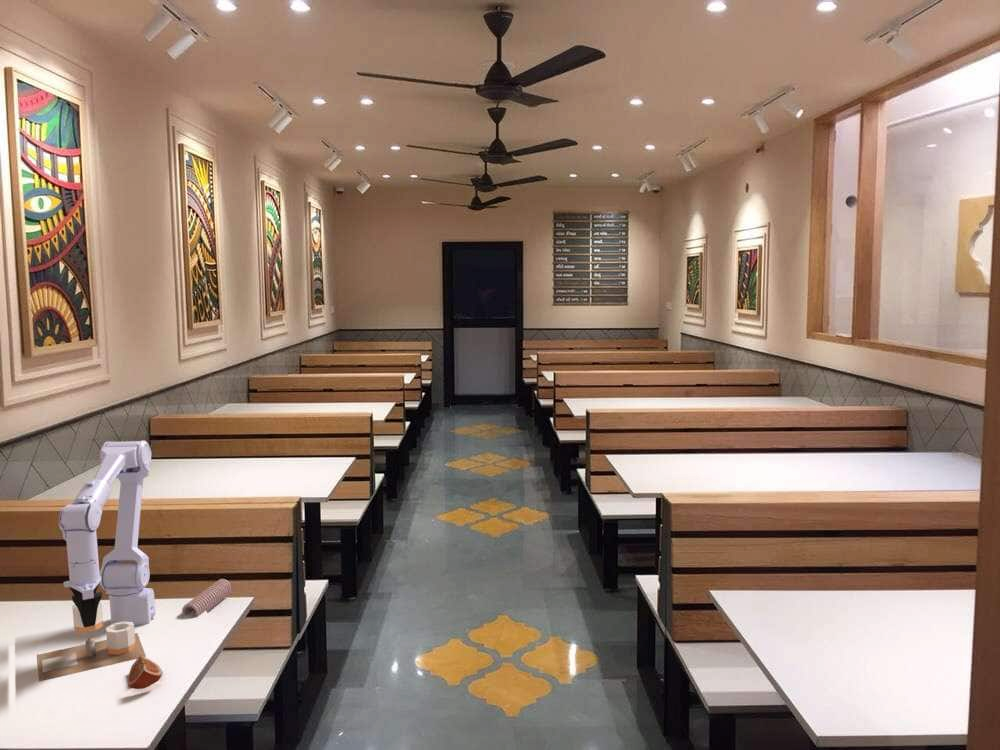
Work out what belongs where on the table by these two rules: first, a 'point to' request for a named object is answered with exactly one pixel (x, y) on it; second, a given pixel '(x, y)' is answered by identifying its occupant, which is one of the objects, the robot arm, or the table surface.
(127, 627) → the seated sleeve
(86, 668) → the pin board
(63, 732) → the table surface
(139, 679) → the fruit slice
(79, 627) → the sleeve
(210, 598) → the coil
